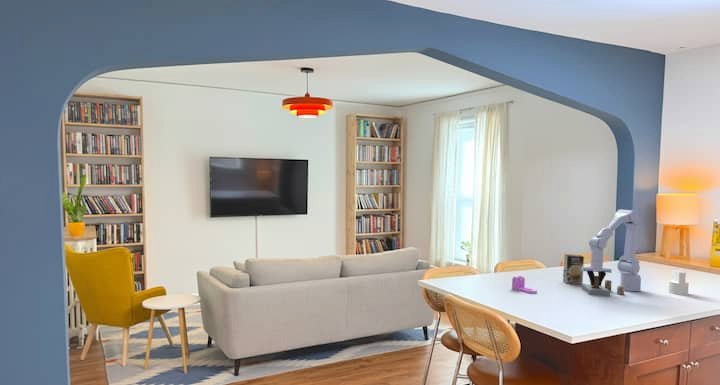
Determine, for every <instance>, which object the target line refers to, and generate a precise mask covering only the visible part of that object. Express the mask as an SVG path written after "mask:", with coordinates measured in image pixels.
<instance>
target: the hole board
mask: <svg viewBox="0 0 720 385" xmlns="http://www.w3.org/2000/svg"><path fill="white" fill-rule="evenodd" d="M581 290H583V291H584V292H586V294H587V295H589V296H590V295H591V296H604V297H605V296H608V297H610V296H611V291H609V290H608V289H606V288H605V286H603V285H602V284H601V286H599V289H598V288H592V285H591V284H587V283H585V284H584V283H582V284H581Z"/></svg>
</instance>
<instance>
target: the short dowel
mask: <svg viewBox="0 0 720 385" xmlns="http://www.w3.org/2000/svg"><path fill="white" fill-rule="evenodd" d="M616 294H617V295H619V296H624V295H625V291H624V287H623V286H620V285H617V288H616Z"/></svg>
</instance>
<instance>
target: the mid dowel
mask: <svg viewBox="0 0 720 385" xmlns="http://www.w3.org/2000/svg"><path fill="white" fill-rule="evenodd" d="M604 287H605V288H606V289H608V290H609V291H610V292H611V291H612V280H610V279H604Z"/></svg>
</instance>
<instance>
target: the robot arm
mask: <svg viewBox="0 0 720 385" xmlns="http://www.w3.org/2000/svg"><path fill="white" fill-rule="evenodd" d="M639 223H640V214H639V212H638V211H637V210H635V209H634V210H633V209H632V210H628V209H622V208H621V209H618V210H617V211H616V212H615V213H614V218H613V219H612V220H611V222H610V223H609V224H608V226H606V227H603V228H601V230H600V231H599V232H598V233H597V234H596V235H595V236H593V237H592V238H590V240H589V242H588V244H589V248H590V251H591V253H590V266H589V267H587V266H586V267H584V266H583V267H582V271H583V272H586V273H587V276H588V278H589V283H590V285H592V286H593V284H594V275H595V273H597V274H598V275H597V276H599V286H601V285H602V283H603V280H605V277H606V276H607V273H610V274H612V269H611V268H607V267H603V266H604V249H605V248H606V247H607V243H608V241H609V240H610V239H611V237H612V236H613V235H614V231H615V230H616V229H618V227H619V226H621V224H624V226H626V231H625V233H626V234H625V240H624V249H623V250H624V251H623V255H621V256H620V257H619V261H618V263H617V270H618V271H619V273H620V281H619V282H620V284H619V286H623V287H624V292H625V291H626V292H642V290H641V287H642V286H641V285H642V277H641V275H640V274H639V272H640V270H641V268H640V266H641V265H640V260H639V259H638V258H637V257H636V252H637V251H636V249H637V241H638V232H639Z"/></svg>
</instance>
